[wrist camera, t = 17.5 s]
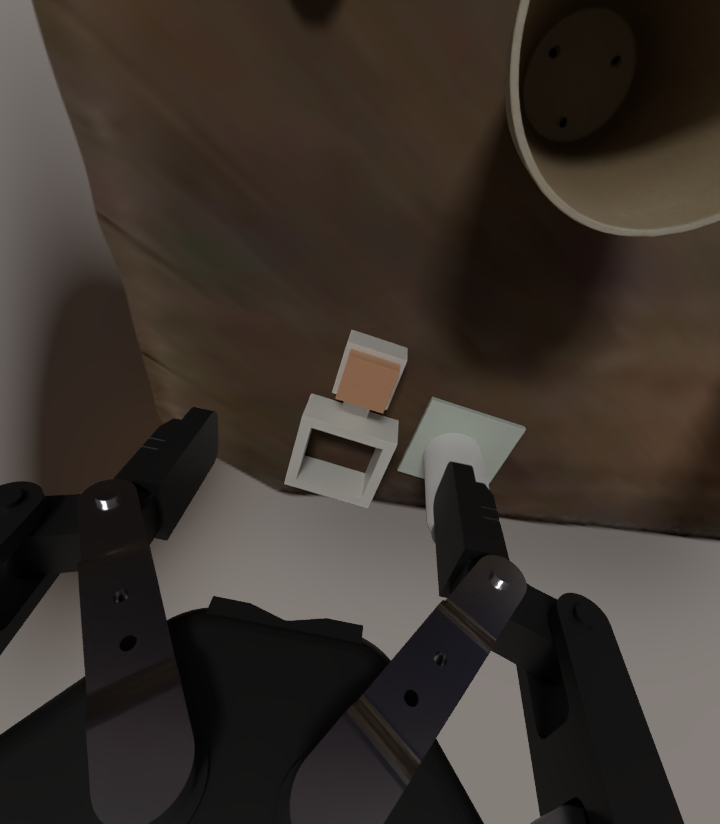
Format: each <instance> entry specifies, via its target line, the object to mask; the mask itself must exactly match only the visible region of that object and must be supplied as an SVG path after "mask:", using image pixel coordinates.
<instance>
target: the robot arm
mask: <svg viewBox="0 0 720 824" xmlns="http://www.w3.org/2000/svg"><path fill="white" fill-rule="evenodd" d="M217 453H218V416H217V413H216V412H215V411H210V410H205V409H200V408H196V407H193V408H191V409H190V410H189V412H188V413H187V414H186V415H185V417H184V418H183V419H182V420H179V419H172V420H170V421H168V422H166V423H165V424H163V425H161V426H160V427H159V428H158V429H157V430H156V431H155V432H154V433H153V435H152V436H151V437H150V439H148V440H147V441H146V442H145V443H144V445H143V447H142V448H140V449H139V450H138V451H137V452H136V454H135V455H134V456H133V457H132V458H131V459H130V461H129V462H128V463H127V464H126V465H125V466H124V467H123V468H122V470H121V471H120V472H119V473H118V474H117V475H116V476H115V477H114V479H107V480H103V481H99V482H97V483H94V484H92V485H90V486H89V487H87V488H86V489H85V490H84V491H83V492H82V493H81V494H75V495H55V496H45V495H44V493H43V490H42V488H41V487H40V486H39V485H37V484H35V483H31V482H24V481H23V482H12V483H7V484H4V485H1V486H0V655H1V654H2V652H3V651H4V649H5V648H6V647H7V645H8V644H9V642H10V641H11V640H12V638H13V637H14V636H15V634H16V633H17V632H18V630H19V629H20V628H21V626H22V625H23V623H24V622H25V621H26V619H27V618H28V617H29V615H30V614H31V613H32V611H33V610H34V608H35V607H36V606H37V604H38V603H39V602H40V600H41V599H42V597H43V596H44V595H45V593H46V592H47V590H48V589H49V588H50V587H51V585H52V584H53V583H54V581H55V580H56V578H57V577H58V576H59V574H60V573H65V572H75V571H78V581H79V596H80V608H81V609H80V610H81V623H82V638H83V652H84V666H85V677H83V678H82V679H80V680H79V681H77V682H76V683H74V684H73V685H72V686H70V687H69V688H67V689H66V690H64V691H63V692H61V693H60V694H59V695H57V696H56V697H54V698H53V699H52V700H50V701H48V702H47V703H45V704H44V705H43V706H41V707H40V708H38V709H37V710H35V711H34V712H32V713H31V714H30V715H28V716H27V717H25V718H24V719H22V720H21V721H19V722H18V723H17V724H15V725H14V726H12V727H11V728H9V729H8V730H6V731H5V732H4V733H2V734H1V735H0V824H484V823H483V821H482V820H481V818H480V816H479V814H478V812H477V811H476V809H475V807H474V805H473V803H472V802H471V800H470V799H469V796H468V795H467V793H466V791H465V789H464V787H463V786H462V784H461V782H460V780H459V778H458V777H457V775H456V773H455V772H454V770H453V768H452V766H451V765H450V762H449V761H448V759H447V757H446V756H445V754H444V752H443V750H442V748H441V746H440V745H439V743H438V741H437V739H436V737H437V736H438V734H439V733H440V731H441V729H442V728H443V726H444V725H445V723H446V721H447V720H448V718H449V716H450V715H451V713H452V712H453V710H454V709H455V707H456V706H457V704H458V702H459V701H460V699H461V698H462V696H463V694H464V693H465V691H466V690H467V688H468V686H469V685H470V683H471V682H472V680H473V678H474V677H475V675H476V674H477V672H478V670H479V669H480V667H481V666H482V664H483V663H484V661H485V659H486V658H487V656H488V655H489V653H490V651H493V652H495V653H497V654H499V655H500V656H502V657H504V658H506V659H508V660H509V661H511V662H513V663H515V664H516V666H517V672H518V678H519V685H520V690H521V697H522V703H523V710H524V716H525V723H526V729H527V735H528V742H529V748H530V754H531V761H532V767H533V773H534V779H535V786H536V792H537V798H538V805H539V812H540V818H538V819H536V820H535V821H533V822H532V823H531V824H684V822H683V819H682V817H681V814H680V811H679V808H678V806H677V803H676V800H675V798H674V795H673V792H672V789H671V787H670V784H669V782H668V779H667V776H666V774H665V771H664V768H663V765H662V762H661V760H660V757H659V755H658V752H657V749H656V746H655V744H654V741H653V738H652V735H651V733H650V730H649V727H648V725H647V722H646V719H645V717H644V714H643V711H642V709H641V706H640V703H639V700H638V698H637V695H636V692H635V690H634V687H633V684H632V682H631V679H630V676H629V674H628V671H627V668H626V666H625V663H624V660H623V657H622V654H621V652H620V649H619V646H618V644H617V641H616V638H615V636H614V633H613V630H612V627H611V625H610V623H609V621H608V619H607V617H606V615H605V614H604V613H603V612H602V610H601V609H600V608H599V607H598V606H597V605H596V604H595V603H593V602H592V601H591V600H589V599H587V598H586V597H584V596H582V595H578V594H575V593H566V594H563V595H562V596H561V597H559V599H558V600H557V599H555V598H553V597H551V596H549V595H547V594H545V593H543V592H541V591H539V590H537V589H535V588H533V587H531V586H530V585H529V584H527V583H526V580H525V578H524V576H523V574H522V572H521V571H520V570H519V569H518V568H517V566H516V565H514V564H513V563H512V562H510V560H509V557H508V553H507V549H506V545H505V541H504V537H503V533H502V529H501V525H500V522H499V516H498V512H497V511H496V509H497V508H496V504H495V500H494V496H493V495H492V493H491V492H490V490H489V489H488V488H487V486H486V485H485V484H484V483H480V482H476V479H475V475H474V470H473V467H472V466H471V465H467V464H462V463H457V462H452V461H450V462H449V463H448V465H447V467H446V469H445V472H444V474H443V476H442V479H441V481H440V484H439V486H438V489H437V491H436V494H435V498H434V504H433V515H434V529H435V542H436V554H437V555H436V556H437V570H438V582H439V583H438V584H439V596H441V597H446V598H447V599H446V601H444V600H443V601H442V602H441V603H440V604H439V605H438V606H437V607H436V608H435V609H434V611H433V612H432V613H431V614H430V615H429V617H428V618H427V619H426V620H425V621H424V623H423V624H422V625H421V626H420V627H419V628H418V630H417V631H416V632H415V633H414V634H413V635H412V637H411V638H410V639H409V640H408V641H407V643H406V644H405V645H404V646H403V647H402V649H401V650H400V651H399V652H398V653H397V654H396V656H395V657H394V658H393V659H392V660H390V659H389V658H388V657H387V656H386V655H385V654H384V653H383V652H382V651H381V650H380V649H378V648H377V647H376V646H375V645H373V644H372V643H370V642H369V641H367V640H365V639H364V638H362V631H363V626H362V625H357V624H352V623H347V622H342V621H337V620H332V619H327V618H325V619H310V620H295V621H286V620H283V619H281V618H279V617H277V616H274V615H273V614H271V613H269V612H267V611H265V610H262V609H261V608H259V607H257V606H255V605H252V604H251V603H245V602H241V601H236V600H231V599H226V598H220V597H216V596H213V598H212V600H211V603H210V605H209V607H208V608H201V609H196V610H191V611H188V612H185V613H182V614H179V615H177V616H175V617H172V618H171V619H169V620H166V615H165V611H164V606H163V602H162V597H161V594H160V589H159V584H158V580H157V576H156V571H155V566H154V562H153V558H152V553H151V549H150V544H151V542H152V541H153V539H154V538H157V539H162V540H168V538H169V537H170V535H171V533H172V532H173V530H174V528H175V527H176V525H177V523H178V522H179V520H180V519H181V517H182V515H183V514H184V512H185V510H186V509H187V507H188V505H189V504H190V502H191V500H192V499H193V497H194V495H195V494H196V492H197V491H198V489H199V487H200V486H201V484H202V482H203V481H204V479H205V477H206V476H207V473H208V472H209V471H210V469H211V467H212V466H213V464H214V462H215V460H216V457H217Z"/></svg>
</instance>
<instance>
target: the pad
mask: <svg viewBox="0 0 720 824" xmlns="http://www.w3.org/2000/svg"><path fill="white" fill-rule="evenodd" d="M525 430H526V429H525V426H522V425H519V424H515V423H512V422H509V421H506V420H503V419H500V418H497V417H494V416H491V415H487V414H484V413H481V412H478V411H475V410H472V409H469V408H466V407H463V406H459V405H456V404H453V403H450V402H447V401H444V400H441V399H438V398H435V397H431V399H430V402H429V404H428V406H427V408H426V410H425V412H424V414H423V416H422V418H421V420H420V422H419V424H418V426H417V429H416V431H415V433H414V435H413V437H412V439H411V441H410V443H409V445H408V447H407V449H406V451H405V453H404V456H403V458H402V460H401V462H400V464H399V466H398V471H400V472H403V473H406V474H409V475H413V476H416V477H419V478H423V479H425V469H424V452H425V449H426V447H427V445H428V444H429V442H430V441H431V440H433V439H434V438H436V437H437V436H439V435H442V434H446V433H460V434H464V435H467V436H469V437H471V438H473V439H474V440H475V441H476V442H477V444H478V445H479V448H480V451H481V455H482V459H483V463H484V467H485V472H486V476H487V481H488V484H489V483H490V482H491V480H492V479H493V477H494V476H495V474H496V473H497V471H498V470H499V468H500V467H501V465H502V464H503V463H504V461H505V460H506V458H507V457H508V455H509V454H510V452H511V451H512V449H513V448H514V446H515V445H516V443H517V442H518V441H519V439H520V438H521V436H522V435H523V433H524V432H525Z"/></svg>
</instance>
